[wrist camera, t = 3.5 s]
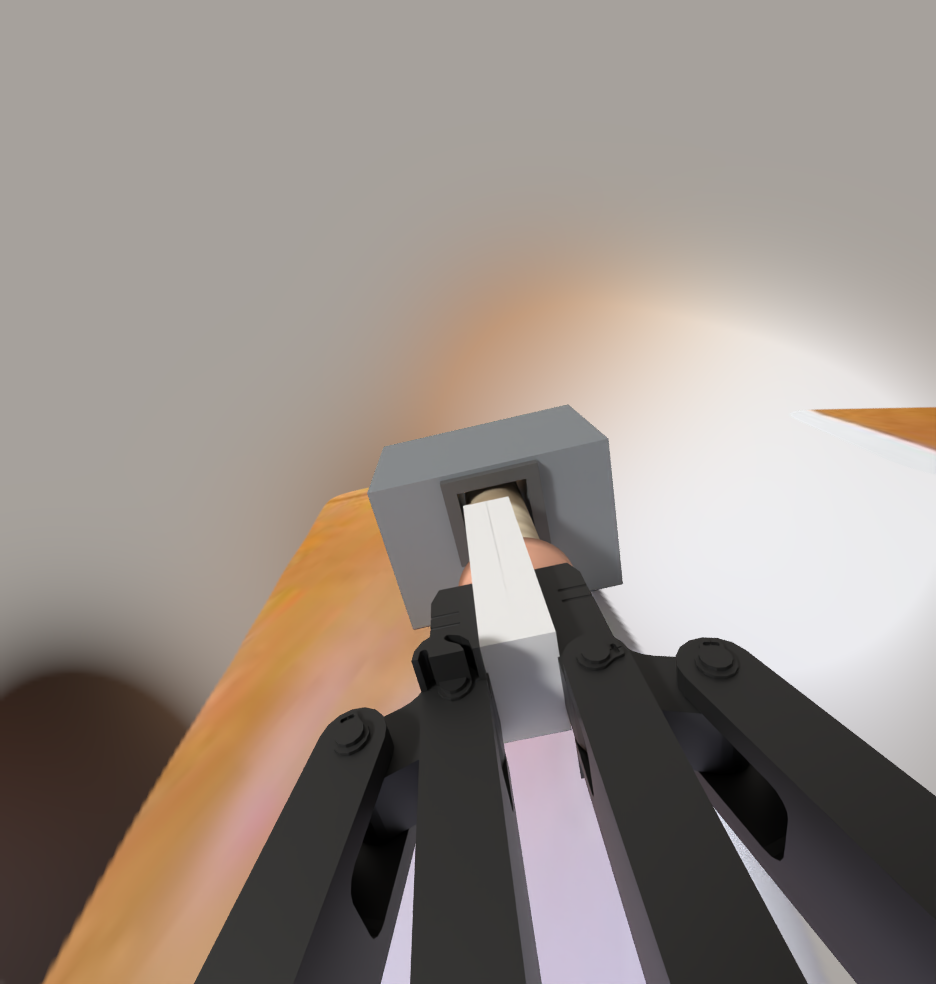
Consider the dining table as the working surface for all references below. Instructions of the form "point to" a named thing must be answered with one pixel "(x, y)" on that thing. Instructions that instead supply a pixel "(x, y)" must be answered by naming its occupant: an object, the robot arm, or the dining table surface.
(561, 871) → the dining table surface
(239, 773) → the dining table surface
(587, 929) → the dining table surface
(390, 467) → the socket block
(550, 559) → the round knob
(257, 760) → the dining table surface
